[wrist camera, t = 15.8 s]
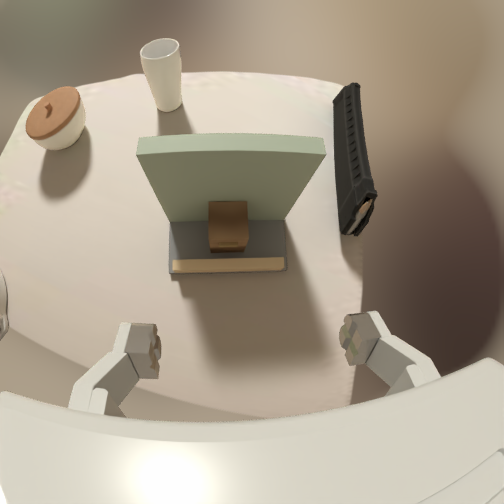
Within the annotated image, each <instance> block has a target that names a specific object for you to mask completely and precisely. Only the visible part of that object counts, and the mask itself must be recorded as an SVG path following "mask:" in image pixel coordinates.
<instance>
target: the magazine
mask: <svg viewBox="0 0 504 504" xmlns="http://www.w3.org/2000/svg"><path fill="white" fill-rule="evenodd" d="M333 110H334V161H335V179H336V191H337V203H338V216H339V225H340V231H341V233H342V234H344V235H346V234H348V235H351V234H354V236H358V235H359V234H360V233H361V231H362V230H363V229H364V227H365V226H366V225H367V223H368V222H369V218H370V216H371V214H372V212H373V209H374V201H375V199H376V197H377V191H376V190H374V183H373V179H372V176H371V172H370V166H369V162H368V156H367V150H366V143H365V137H364V128H363V119H362V112H361V101H360V85H359V84H358V83H351V84H350V85H348V86H345V87H343V89H342V90H341V91H340V92H339V94H338V95H337V96H336V97H335V99H334V100H333Z"/></svg>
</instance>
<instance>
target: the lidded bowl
mask: <svg viewBox="0 0 504 504" xmlns="http://www.w3.org/2000/svg"><path fill="white" fill-rule="evenodd" d="M85 120H86V113H85V108H84V105H83V102H82V100H81V98H80V95H79V92H78V91H77V89H75V88H73V87H68V86H67V87H61V88H58V89H56V90H54V91H52V92H50V93H49V94H47V95H46V96H44V97H43V98H42V99H41V100H40V101H39V102H38V103H37V104H36V105H35V106H34V108H33V109H32V111H31V112H30V114H29V116H28V118H27V121H26V132H27V134H28V135H29V137H30V138H32V139H33V140H34V141H35V142H36V143H37V144H38V145H40V146H41V147H43V148H45V149H48V150H60V149H65V148H68V147H70V146H71V145H73V144H74V143H75V142H76V141H77V140H78V138H79V137H80V135H81V133H82V130H83V128H84V125H85Z"/></svg>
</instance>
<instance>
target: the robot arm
mask: <svg viewBox="0 0 504 504" xmlns="http://www.w3.org/2000/svg"><path fill="white" fill-rule="evenodd" d="M6 305H7V293H6V285H5V281H4V278H3V275H2V273H1V271H0V340H1V339H2V338H3V336H4V335H5V334H6V333H7V331H8V320H7V315H6ZM344 323H345V324H344V325H343V326H342V327H341V329H340V332H339V340H340V344H341V347H342V348H344V349H345V350H346V353H345V356H346V359H347V361H348V364H349V366H352V365H358V364H364V363H366V365H367V366H368V367H369V368H370V369H372V370H373V371H374V372H375V373H376V374H377V375H378V376H379V377H380V378H382V379H383V380H384V381H385V382H386V383H387V384H388V385H389V386H391V389H390V390H389V391H388V392H387V394H386V396H385V397H382V398H378V399H374V400H371V401H367V402H363V403H359V404H354V405H350V406H345V407H341V408H336V409H331V410H326V411H320V412H314V413H308V414H302V415H295V416H287V417H279V418H270V419H260V420H247V421H229V422H173V421H155V420H142V419H131V418H126V416H125V415H124V414H123V412H122V411H121V410H120V408H119V407H118V406H119V405H120V404H121V402H122V401H123V400H124V398H125V397H126V396H127V395H128V394H129V392H130V391H131V390H132V388H133V387H134V386H135V385H136V383H137V382H138V381H139V378H142V379H158V376H159V368H160V366H159V363H158V360H159V359H160V358H161V340H160V337H159V336H158V335H157V331H158V329H157V326H156V324H145V323H124V322H122V323H121V324H120V326H119V329H118V332H117V336H116V339H115V343H114V347H113V350H112V352H108V353H107V354H106V355H105V356H104V357H103V358H102V359H101V360H99V361H98V362H97V363H96V364H95V365H94V366H93V367H92V368H91V369H90V370H89V371H87V372H86V373H85V374H84V375H83V376H82V377H81V378H80V379H79V380H78V381H77V382H76V383H75V384H74V387H73V391H72V395H71V398H70V402H69V406H68V408H65V407H61V406H57V405H53V404H49V403H45V402H41V401H38V400H34V399H31V398H27V397H24V396H21V395H18V394H15V393H12V392H9V391H2V392H0V504H504V366H503V365H502V364H500V363H499V362H497V361H495V360H494V359H492V358H485V359H482V360H480V361H478V362H476V363H474V364H472V365H470V366H467V367H465V368H463V369H461V370H458V371H456V372H454V373H452V374H449V375H446V376H444V377H440V375H439V373H438V372H437V370H436V368H435V366H434V364H433V362H432V361H431V359H430V358H429V357H427V356H426V355H424V354H422V353H421V352H419V351H418V350H416V349H414V348H413V347H412V346H410V345H409V344H407V343H405V342H404V341H402V340H401V339H399V338H398V337H396V336H394V335H393V336H392V335H391V334H390V332H389V330H388V328H387V327H386V325H385V323H384V322H383V320H382V318H381V316H380V315H379V313H378V312H377V311H372V312H364V313H355V314H347V315H346V316H345V318H344Z"/></svg>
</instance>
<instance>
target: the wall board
mask: <svg viewBox="0 0 504 504" xmlns="http://www.w3.org/2000/svg"><path fill="white" fill-rule="evenodd" d="M136 156H137V158H138V160H139V162H140V164H141V166H142V168H143V170H144V172H145V174H146V176H147V178H148V180H149V182H150V184H151V186H152V188H153V190H154V192H155V194H156V196H157V198H158V200H159V202H160V204H161V206H162V208H163V210H164V212H165V214H166V216H167V218H168V220H169V221H170V232H169V273H170V274H191V273H234V272H267V271H286V270H287V257H286V243H285V231H284V219H285V217H286V216H287V214H288V213H289V211H290V210H291V208H292V207H293V205H294V204H295V202H296V200H297V199H298V197H299V196H300V194H301V193H302V191H303V190H304V188H305V187H306V185H307V184H308V182H309V180H310V179H311V177H312V176H313V174H314V173H315V171H316V170H317V168H318V167H319V165H320V164H321V162H322V160H323V159H324V157H325V156H326V150H325V145H324V140H323V138H318V137H306V136H293V135H276V134H249V133H209V134H182V135H165V136H152V137H141V138H139V141H138V147H137V153H136ZM226 201H247V208H248V230H249V240H248V242H247V245H246V248H245V250H244V252H235V253H211V251H210V245H209V230H208V202H226Z"/></svg>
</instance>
